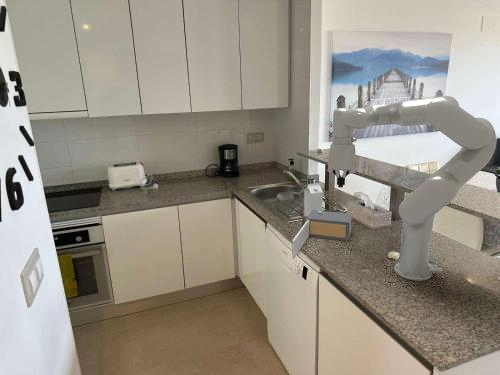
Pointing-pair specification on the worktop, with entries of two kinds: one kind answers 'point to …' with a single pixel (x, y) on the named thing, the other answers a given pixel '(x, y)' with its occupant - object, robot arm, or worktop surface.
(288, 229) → the worktop surface
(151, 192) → the worktop surface
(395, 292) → the worktop surface
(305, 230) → the side door
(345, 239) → the cabinet with open door
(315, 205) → the milk carton
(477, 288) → the worktop surface
